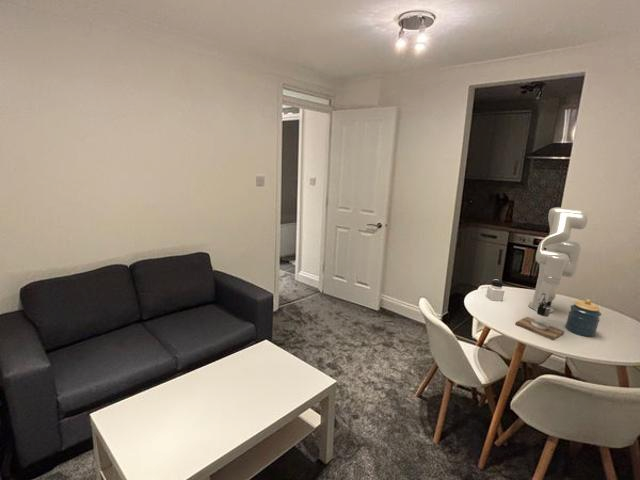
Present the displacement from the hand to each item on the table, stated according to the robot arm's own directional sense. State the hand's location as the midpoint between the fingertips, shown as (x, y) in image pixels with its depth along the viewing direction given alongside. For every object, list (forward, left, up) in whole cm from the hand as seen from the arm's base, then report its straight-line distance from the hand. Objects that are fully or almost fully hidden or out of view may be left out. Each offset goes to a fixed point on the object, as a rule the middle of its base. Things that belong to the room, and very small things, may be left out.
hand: (543, 312), depth 179 cm
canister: (-19, +12, -10) cm, 24 cm away
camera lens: (0, 0, -1) cm, 1 cm away
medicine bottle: (-19, -34, -10) cm, 40 cm away
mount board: (0, 0, -9) cm, 9 cm away
